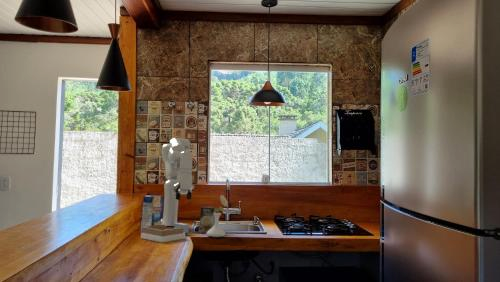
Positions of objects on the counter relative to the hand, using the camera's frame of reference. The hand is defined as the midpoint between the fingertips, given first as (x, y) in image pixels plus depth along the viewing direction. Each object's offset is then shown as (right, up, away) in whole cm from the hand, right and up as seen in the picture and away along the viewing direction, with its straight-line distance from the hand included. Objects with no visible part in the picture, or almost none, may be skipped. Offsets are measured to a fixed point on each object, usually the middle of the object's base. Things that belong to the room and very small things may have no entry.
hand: (183, 199), depth 213 cm
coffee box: (+13, -23, +8) cm, 27 cm away
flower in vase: (+21, -22, -4) cm, 31 cm away
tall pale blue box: (-1, -21, -2) cm, 21 cm away
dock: (-8, -19, -19) cm, 28 cm away
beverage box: (-19, -20, -5) cm, 28 cm away
